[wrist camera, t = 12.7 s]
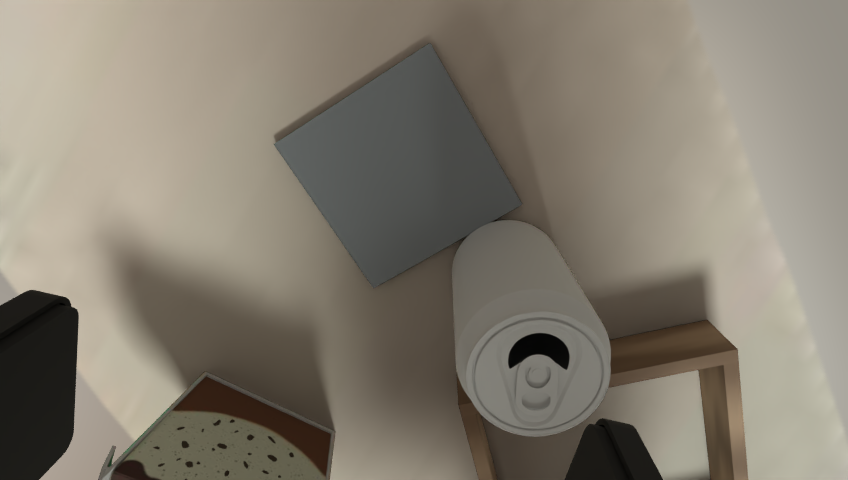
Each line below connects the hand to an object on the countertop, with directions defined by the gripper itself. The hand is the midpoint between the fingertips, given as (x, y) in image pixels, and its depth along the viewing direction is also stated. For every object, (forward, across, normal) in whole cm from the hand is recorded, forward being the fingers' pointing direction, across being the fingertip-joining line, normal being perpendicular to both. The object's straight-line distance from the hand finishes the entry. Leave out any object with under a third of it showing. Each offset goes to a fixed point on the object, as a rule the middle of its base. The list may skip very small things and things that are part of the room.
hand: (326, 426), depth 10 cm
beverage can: (+22, -7, +4) cm, 24 cm away
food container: (+22, +6, +19) cm, 30 cm away
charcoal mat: (+22, 0, 0) cm, 22 cm away
